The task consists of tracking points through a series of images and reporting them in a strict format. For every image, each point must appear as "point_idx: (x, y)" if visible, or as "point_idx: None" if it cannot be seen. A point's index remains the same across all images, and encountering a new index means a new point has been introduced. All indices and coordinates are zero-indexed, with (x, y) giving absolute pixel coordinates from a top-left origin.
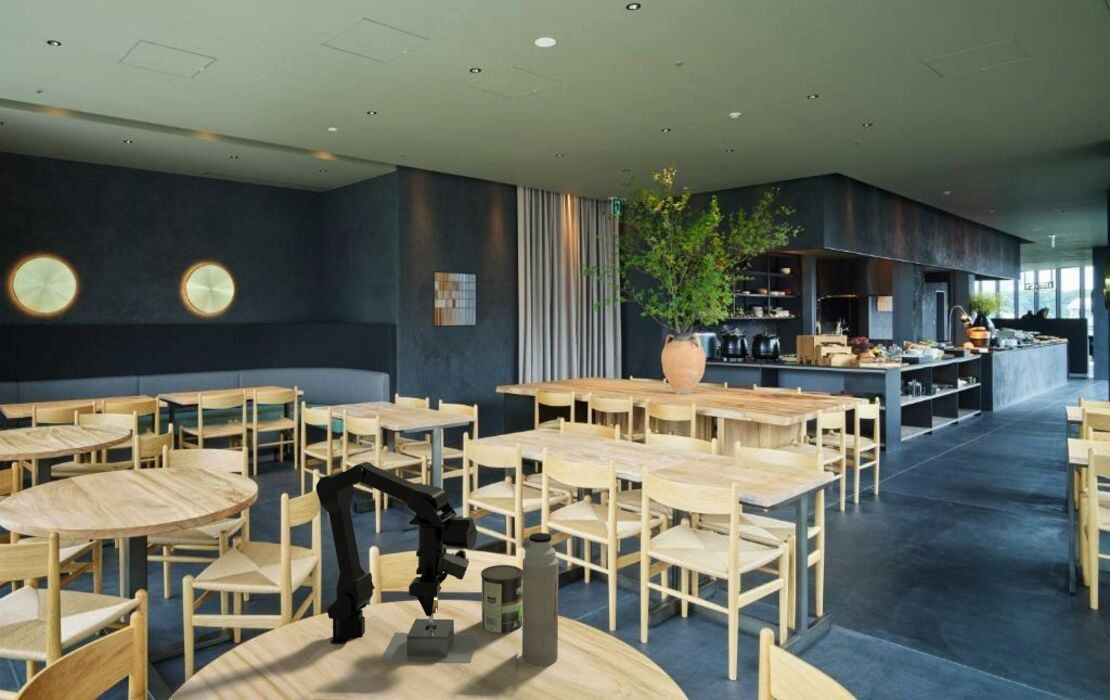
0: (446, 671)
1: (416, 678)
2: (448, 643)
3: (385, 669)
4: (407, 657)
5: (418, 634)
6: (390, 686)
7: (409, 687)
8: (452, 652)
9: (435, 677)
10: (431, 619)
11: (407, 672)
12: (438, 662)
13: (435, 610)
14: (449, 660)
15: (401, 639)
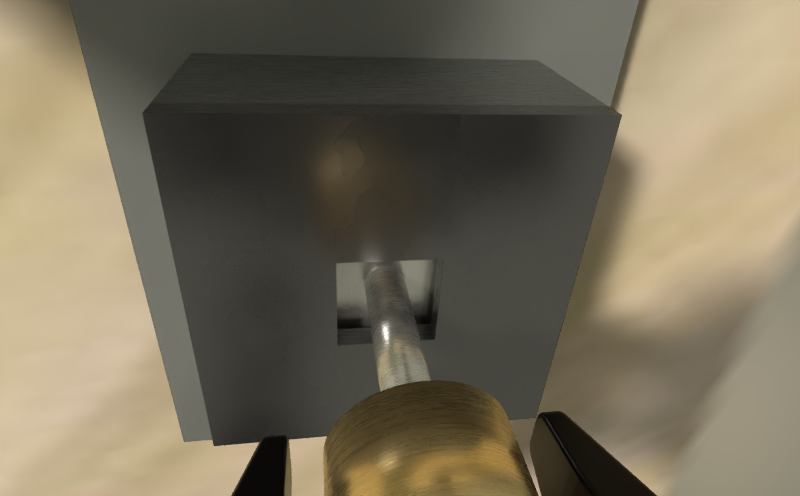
0: (667, 35)
1: (695, 207)
2: (511, 83)
3: (558, 363)
4: None
5: (519, 360)
6: (729, 303)
7: (776, 220)
8: (465, 26)
9: (722, 99)
10: (423, 361)
11: (614, 265)
12: None
13: (499, 420)
14: (598, 32)
15: None
